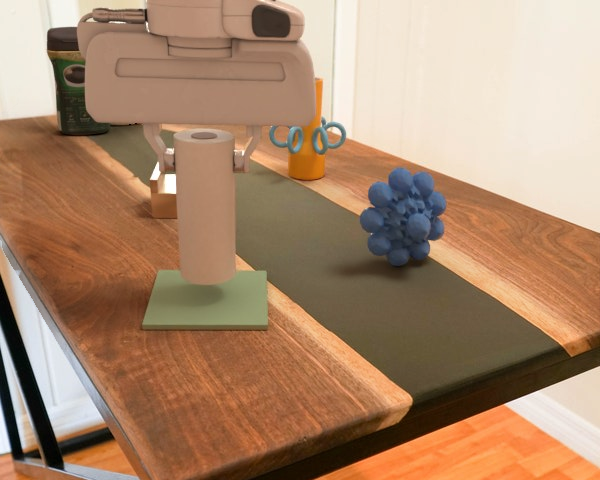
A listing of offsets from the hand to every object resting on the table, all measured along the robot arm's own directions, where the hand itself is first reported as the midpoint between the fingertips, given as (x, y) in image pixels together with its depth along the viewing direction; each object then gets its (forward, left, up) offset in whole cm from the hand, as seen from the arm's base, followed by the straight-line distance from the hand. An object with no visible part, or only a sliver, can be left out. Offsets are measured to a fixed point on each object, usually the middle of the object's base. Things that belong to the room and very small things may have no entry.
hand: (205, 171), depth 62 cm
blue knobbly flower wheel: (+22, +8, -14) cm, 27 cm away
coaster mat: (0, 0, -14) cm, 14 cm away
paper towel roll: (0, 0, -4) cm, 4 cm away
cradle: (-5, +27, -14) cm, 31 cm away
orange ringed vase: (+13, +43, -14) cm, 47 cm away
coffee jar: (-28, +68, -14) cm, 75 cm away
